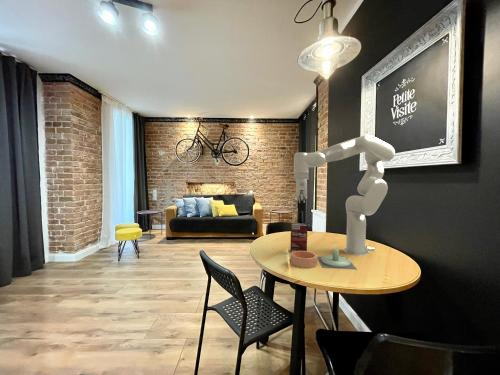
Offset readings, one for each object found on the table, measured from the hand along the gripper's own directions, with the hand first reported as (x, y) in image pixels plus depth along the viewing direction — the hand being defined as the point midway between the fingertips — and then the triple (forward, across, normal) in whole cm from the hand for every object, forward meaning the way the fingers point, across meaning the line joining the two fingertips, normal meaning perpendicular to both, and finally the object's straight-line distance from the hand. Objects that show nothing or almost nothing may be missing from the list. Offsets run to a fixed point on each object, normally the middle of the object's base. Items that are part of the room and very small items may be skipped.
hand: (301, 209), depth 120 cm
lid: (+24, -9, -16) cm, 30 cm away
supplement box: (+25, +4, +1) cm, 25 cm away
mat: (+25, -9, -16) cm, 31 cm away
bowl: (+24, -13, -1) cm, 28 cm away
